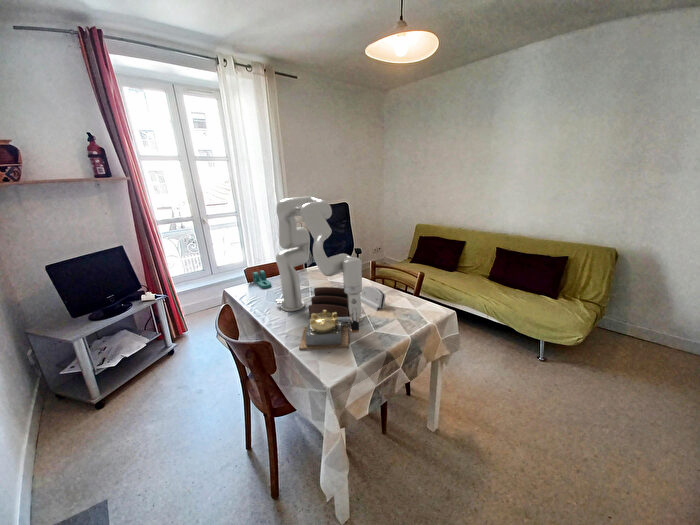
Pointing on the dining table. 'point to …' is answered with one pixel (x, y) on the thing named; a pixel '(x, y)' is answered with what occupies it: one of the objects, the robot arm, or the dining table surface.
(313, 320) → the gold rounded piece
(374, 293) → the hinge
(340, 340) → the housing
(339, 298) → the letter holder
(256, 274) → the bracket
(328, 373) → the dining table surface
